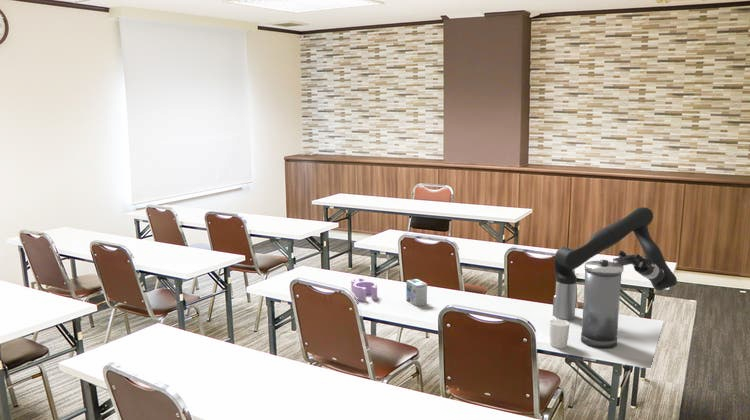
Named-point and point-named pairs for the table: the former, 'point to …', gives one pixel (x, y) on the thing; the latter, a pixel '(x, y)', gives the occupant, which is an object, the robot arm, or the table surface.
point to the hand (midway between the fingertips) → (628, 254)
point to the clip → (364, 289)
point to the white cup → (559, 333)
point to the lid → (610, 265)
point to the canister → (600, 309)
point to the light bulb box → (416, 292)
